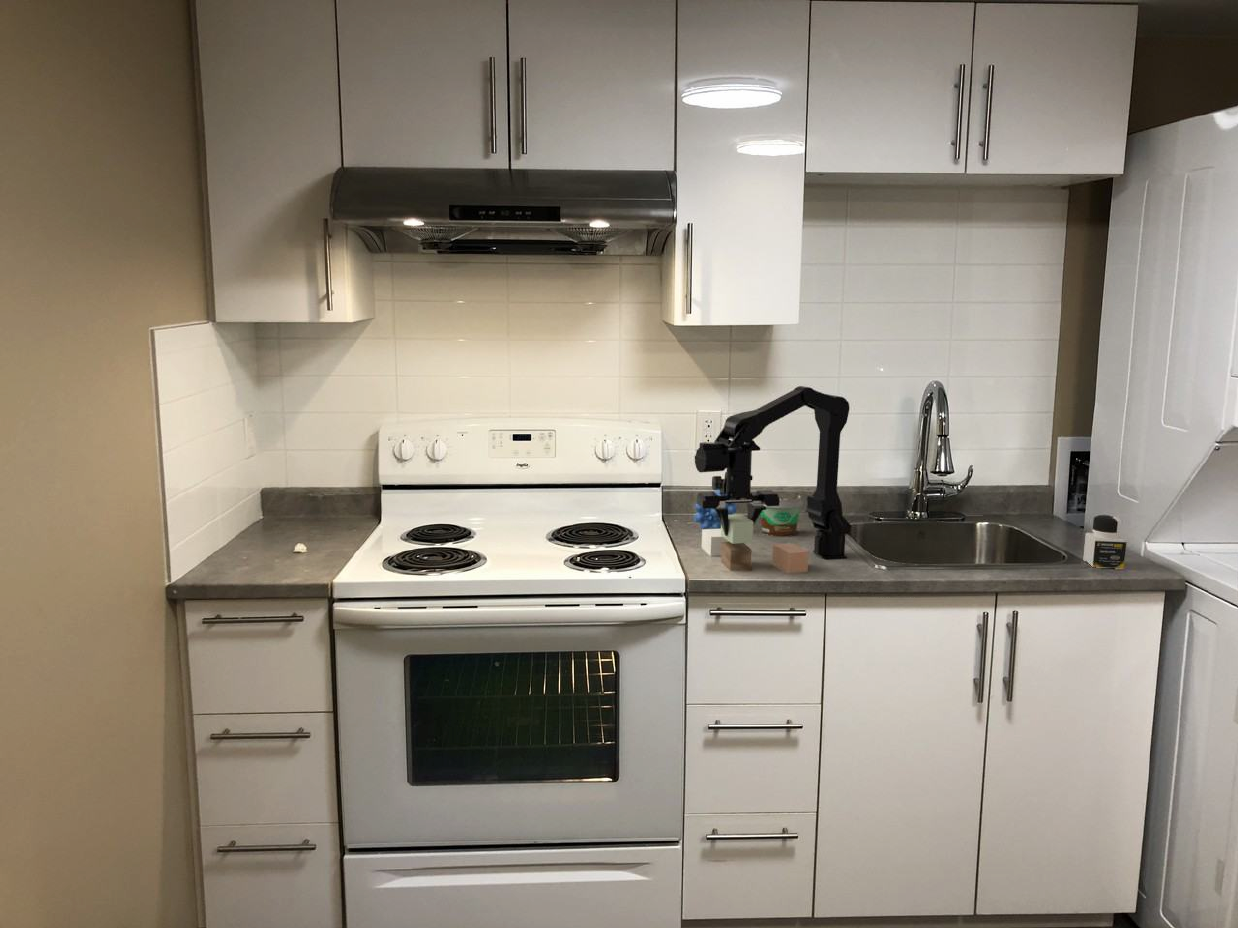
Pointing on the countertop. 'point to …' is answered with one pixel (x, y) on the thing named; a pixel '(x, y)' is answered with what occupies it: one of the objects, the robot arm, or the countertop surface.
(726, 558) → the walnut brick
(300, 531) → the countertop surface
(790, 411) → the robot arm
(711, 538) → the off-white brick
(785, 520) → the food container
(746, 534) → the sage brick
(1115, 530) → the medicine bottle
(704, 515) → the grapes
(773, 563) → the terracotta brick
